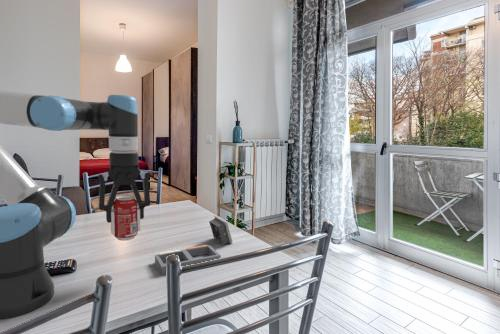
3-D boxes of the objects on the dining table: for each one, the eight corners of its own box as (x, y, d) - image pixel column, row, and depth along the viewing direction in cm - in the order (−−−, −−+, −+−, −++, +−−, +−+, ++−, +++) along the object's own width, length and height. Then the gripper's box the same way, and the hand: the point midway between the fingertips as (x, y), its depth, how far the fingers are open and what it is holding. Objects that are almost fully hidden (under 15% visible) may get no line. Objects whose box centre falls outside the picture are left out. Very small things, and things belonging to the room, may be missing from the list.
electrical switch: (233, 243, 117) (231, 220, 115) (220, 247, 114) (218, 223, 112) (221, 236, 125) (219, 214, 123) (210, 239, 122) (207, 217, 120)
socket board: (161, 274, 91) (161, 265, 91) (155, 262, 100) (154, 253, 99) (220, 262, 100) (220, 254, 100) (210, 252, 109) (209, 244, 108)
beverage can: (130, 232, 94) (129, 193, 93) (141, 237, 90) (141, 197, 89) (110, 237, 90) (109, 197, 88) (121, 243, 86) (120, 200, 84)
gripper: (85, 153, 79) (88, 240, 82) (161, 152, 88) (162, 230, 91) (85, 151, 85) (88, 231, 88) (156, 150, 95) (156, 223, 98)
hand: (125, 231), depth 90 cm, fingers closed on beverage can, 6 cm apart
